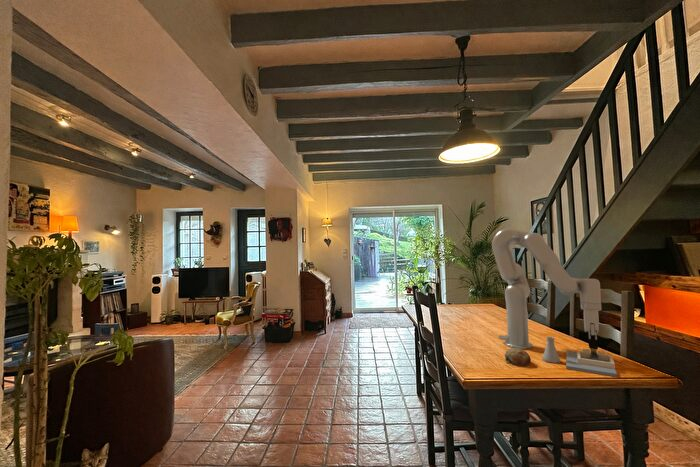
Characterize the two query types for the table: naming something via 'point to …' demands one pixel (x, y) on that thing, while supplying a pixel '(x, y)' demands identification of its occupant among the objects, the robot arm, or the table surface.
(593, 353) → the pin
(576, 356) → the dock board
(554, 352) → the flask
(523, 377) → the table surface
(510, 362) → the bread roll
